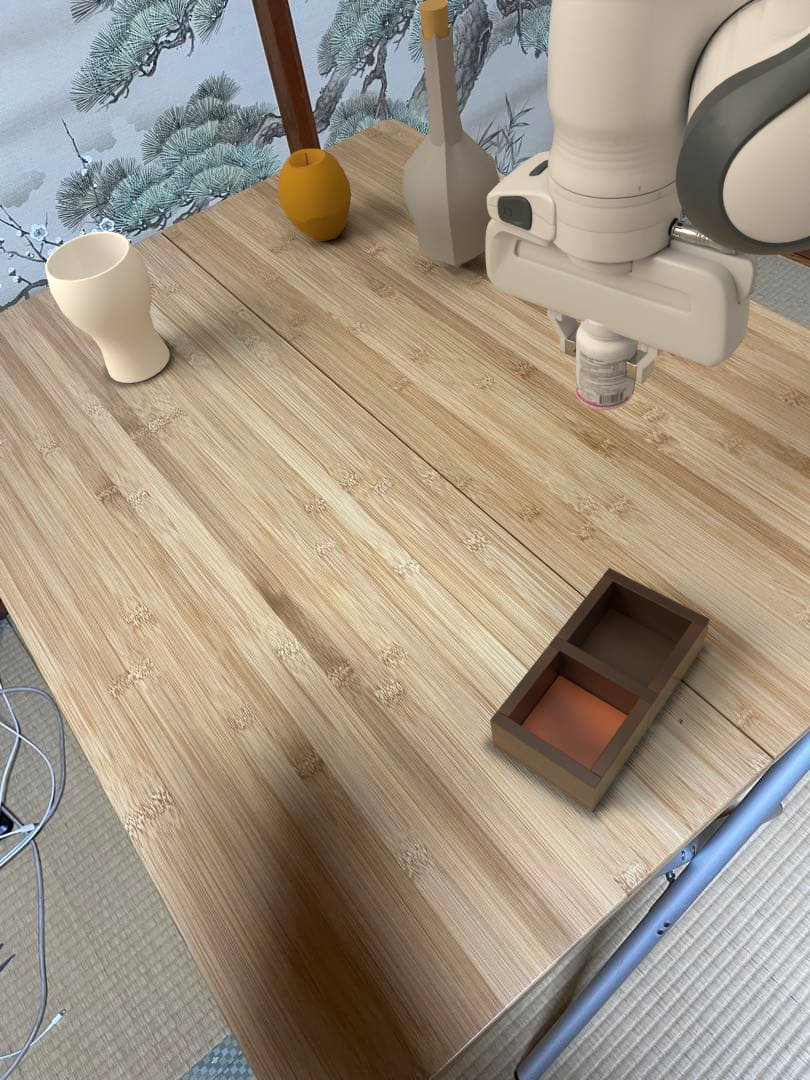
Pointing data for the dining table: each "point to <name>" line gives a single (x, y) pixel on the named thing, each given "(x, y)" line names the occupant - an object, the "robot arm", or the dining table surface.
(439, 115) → the bottle
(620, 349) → the pill bottle
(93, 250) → the cup
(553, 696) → the holder
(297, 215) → the orange candle
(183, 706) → the dining table surface
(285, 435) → the dining table surface
